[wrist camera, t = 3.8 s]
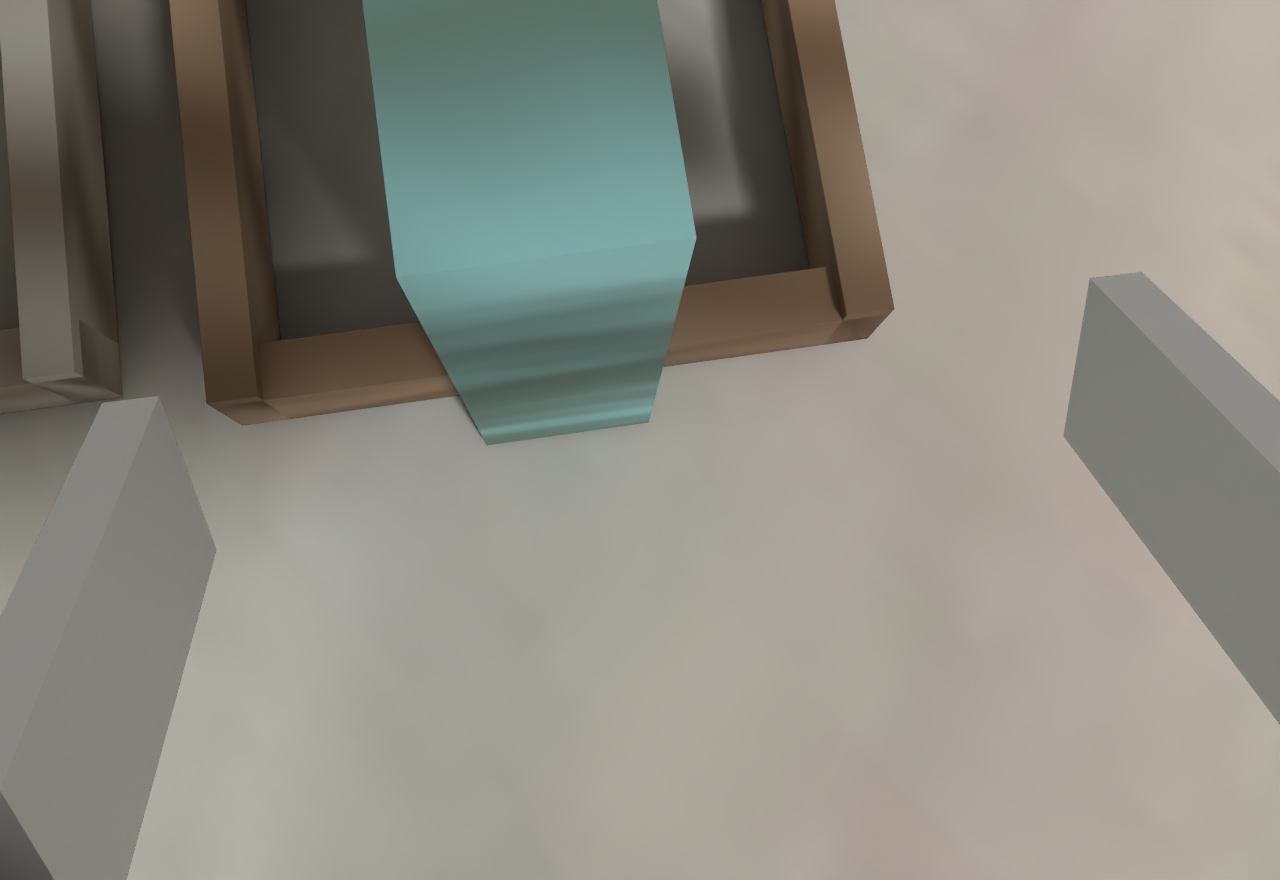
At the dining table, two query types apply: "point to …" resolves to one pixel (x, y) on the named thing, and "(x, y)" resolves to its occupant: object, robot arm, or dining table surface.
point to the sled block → (56, 211)
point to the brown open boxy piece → (522, 216)
